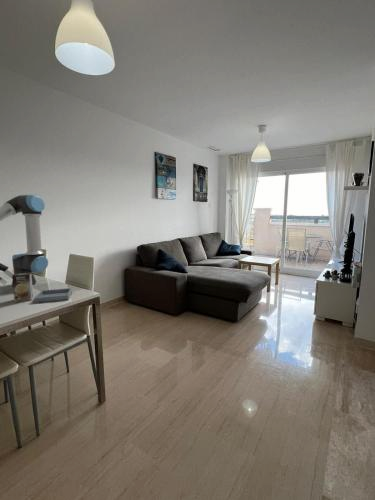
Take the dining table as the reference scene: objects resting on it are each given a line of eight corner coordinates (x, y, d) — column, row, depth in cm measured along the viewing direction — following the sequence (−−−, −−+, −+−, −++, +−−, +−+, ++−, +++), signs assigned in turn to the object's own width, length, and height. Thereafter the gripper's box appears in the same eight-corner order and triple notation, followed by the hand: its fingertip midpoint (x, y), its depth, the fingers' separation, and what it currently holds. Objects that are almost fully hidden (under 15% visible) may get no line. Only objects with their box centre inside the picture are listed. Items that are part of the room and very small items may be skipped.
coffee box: (13, 302, 151) (11, 275, 149) (16, 299, 157) (13, 273, 155) (31, 300, 154) (29, 274, 152) (33, 297, 160) (31, 272, 158)
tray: (41, 295, 165) (41, 290, 164) (72, 292, 170) (71, 288, 169) (34, 303, 150) (34, 298, 149) (68, 300, 155) (68, 295, 154)
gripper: (-17, 257, 157) (13, 279, 163) (-40, 265, 133) (-4, 290, 139) (-8, 248, 158) (22, 271, 164) (-29, 254, 134) (7, 280, 140)
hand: (10, 280), depth 151 cm, fingers open, 13 cm apart
